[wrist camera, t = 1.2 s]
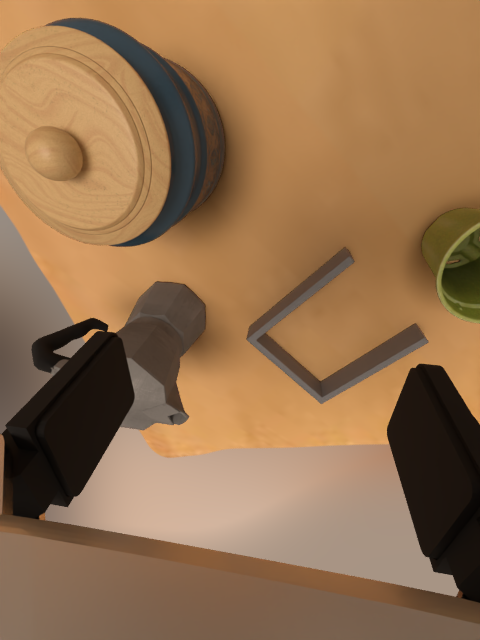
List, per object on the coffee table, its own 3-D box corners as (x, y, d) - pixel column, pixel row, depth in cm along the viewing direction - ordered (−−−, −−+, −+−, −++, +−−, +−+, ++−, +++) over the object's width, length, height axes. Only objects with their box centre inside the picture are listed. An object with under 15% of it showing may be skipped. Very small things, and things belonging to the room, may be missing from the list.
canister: (256, 144, 29) (217, 155, 14) (174, 238, 35) (86, 315, 20) (147, 18, 26) (-54, -142, 11) (76, 146, 32) (-117, 156, 17)
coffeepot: (233, 306, 39) (195, 419, 23) (206, 358, 43) (159, 479, 28) (117, 250, 37) (-6, 332, 22) (102, 310, 42) (-7, 412, 27)
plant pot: (516, 175, 28) (597, 189, 20) (505, 271, 32) (569, 313, 25) (401, 204, 30) (437, 226, 23) (405, 290, 34) (436, 332, 27)
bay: (345, 246, 33) (349, 256, 30) (419, 327, 36) (428, 342, 34) (249, 326, 40) (246, 339, 37) (319, 388, 43) (321, 404, 41)
